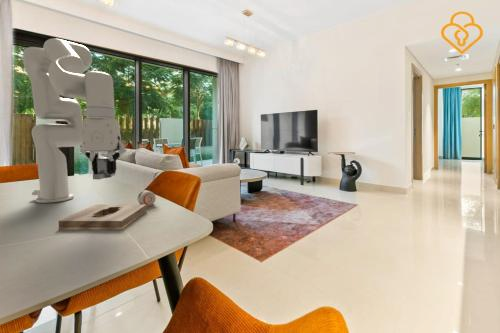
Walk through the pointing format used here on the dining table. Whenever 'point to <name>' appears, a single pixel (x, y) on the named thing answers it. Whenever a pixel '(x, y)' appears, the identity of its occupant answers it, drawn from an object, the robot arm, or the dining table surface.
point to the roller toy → (146, 198)
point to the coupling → (102, 169)
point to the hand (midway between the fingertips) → (104, 172)
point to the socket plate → (103, 217)
